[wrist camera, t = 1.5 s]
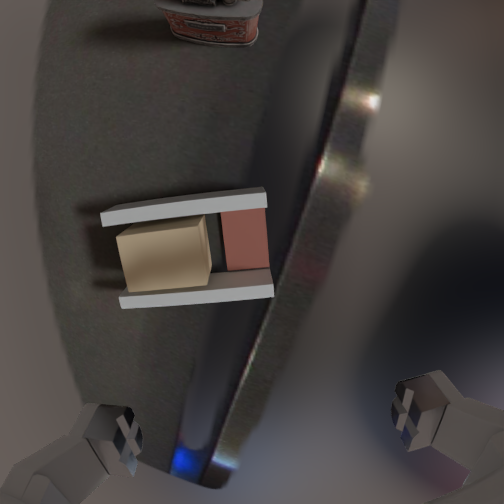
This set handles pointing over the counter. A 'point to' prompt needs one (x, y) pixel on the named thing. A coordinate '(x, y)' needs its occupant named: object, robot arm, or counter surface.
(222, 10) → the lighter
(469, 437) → the robot arm
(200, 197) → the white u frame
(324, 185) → the counter surface
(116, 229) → the counter surface
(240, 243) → the trap pad
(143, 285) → the maple block
